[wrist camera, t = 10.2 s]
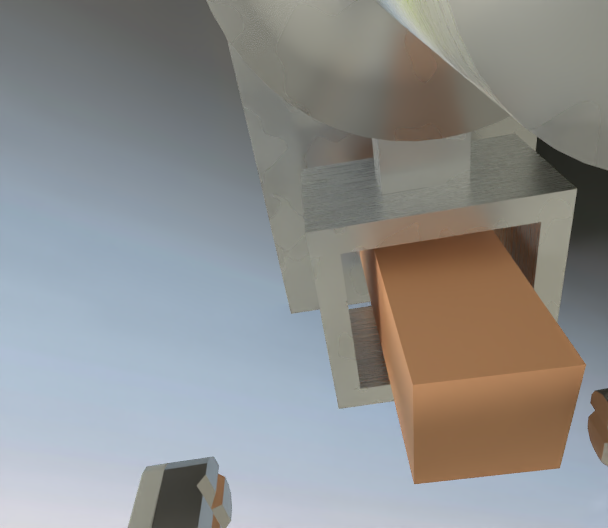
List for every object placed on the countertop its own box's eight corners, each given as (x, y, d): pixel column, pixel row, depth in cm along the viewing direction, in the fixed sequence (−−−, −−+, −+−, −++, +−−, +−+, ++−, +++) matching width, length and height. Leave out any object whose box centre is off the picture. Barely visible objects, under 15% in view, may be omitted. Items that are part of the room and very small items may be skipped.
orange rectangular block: (446, 247, 21) (559, 468, 12) (360, 258, 21) (413, 484, 12) (449, 167, 19) (585, 364, 10) (354, 180, 19) (412, 385, 10)
